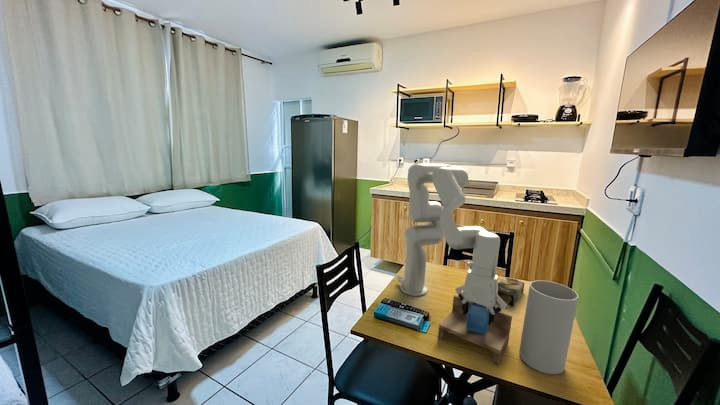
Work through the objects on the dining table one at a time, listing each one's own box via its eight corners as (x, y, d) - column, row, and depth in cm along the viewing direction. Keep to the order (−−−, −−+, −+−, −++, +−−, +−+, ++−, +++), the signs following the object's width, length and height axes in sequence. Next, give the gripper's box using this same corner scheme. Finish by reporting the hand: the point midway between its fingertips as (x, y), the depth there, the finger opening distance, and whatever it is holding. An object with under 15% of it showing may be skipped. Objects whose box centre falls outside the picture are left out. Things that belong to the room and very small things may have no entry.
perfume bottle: (486, 334, 95) (491, 301, 93) (466, 329, 97) (470, 297, 95) (485, 323, 101) (489, 292, 99) (466, 319, 103) (470, 288, 101)
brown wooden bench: (437, 338, 103) (440, 308, 101) (451, 322, 113) (454, 294, 111) (497, 366, 91) (502, 333, 88) (507, 345, 101) (512, 315, 98)
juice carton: (502, 285, 146) (504, 274, 145) (524, 292, 139) (526, 280, 138) (489, 300, 131) (491, 288, 130) (512, 309, 125) (515, 296, 123)
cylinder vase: (520, 367, 90) (532, 294, 86) (517, 343, 102) (527, 277, 97) (568, 381, 86) (584, 304, 81) (559, 354, 97) (572, 285, 92)
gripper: (453, 265, 98) (448, 312, 101) (509, 282, 87) (502, 334, 90) (461, 259, 103) (456, 304, 107) (515, 274, 93) (507, 323, 96)
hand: (477, 317), depth 98 cm, fingers closed on perfume bottle, 7 cm apart
